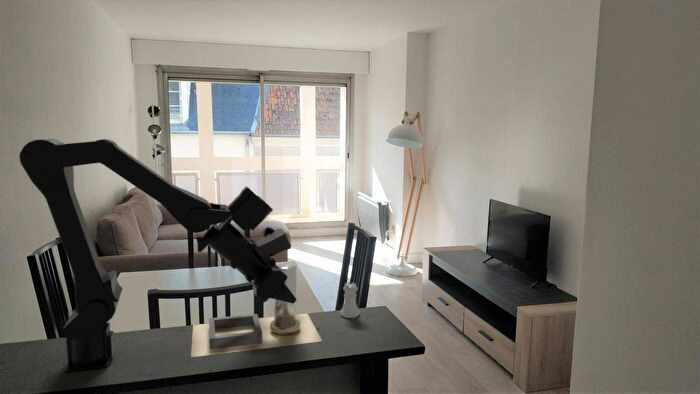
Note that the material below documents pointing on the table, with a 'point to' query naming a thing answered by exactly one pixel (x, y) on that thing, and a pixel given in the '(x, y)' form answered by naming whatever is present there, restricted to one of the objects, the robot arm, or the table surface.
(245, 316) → the carrier board
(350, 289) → the rook chess piece
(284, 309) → the grey rounded piece
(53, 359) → the table surface
